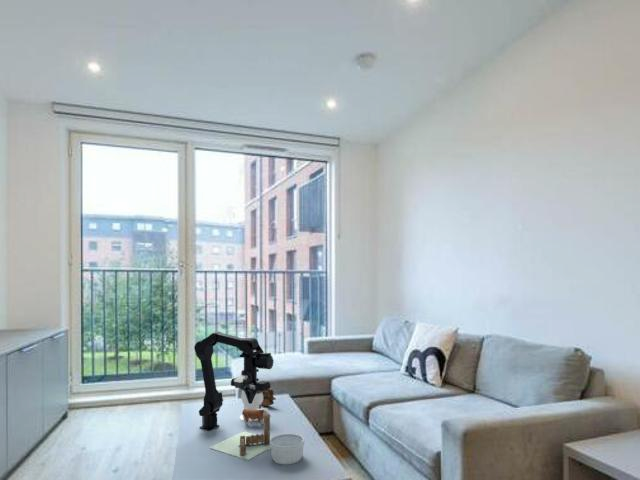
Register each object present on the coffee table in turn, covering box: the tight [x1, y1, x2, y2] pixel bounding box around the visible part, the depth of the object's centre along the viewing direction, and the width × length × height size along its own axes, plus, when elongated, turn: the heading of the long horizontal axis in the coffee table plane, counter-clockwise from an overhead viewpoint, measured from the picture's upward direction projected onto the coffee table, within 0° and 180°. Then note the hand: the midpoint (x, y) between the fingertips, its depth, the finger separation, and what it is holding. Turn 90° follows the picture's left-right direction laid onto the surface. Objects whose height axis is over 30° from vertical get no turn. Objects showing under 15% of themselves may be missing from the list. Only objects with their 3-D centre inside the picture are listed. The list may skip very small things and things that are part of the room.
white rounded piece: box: [239, 389, 264, 423], centre depth 204 cm, size 12×11×15 cm
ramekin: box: [270, 433, 305, 466], centre depth 158 cm, size 13×13×7 cm
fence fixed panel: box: [240, 436, 245, 456], centre depth 165 cm, size 10×2×4 cm, turn 11°
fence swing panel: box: [246, 413, 271, 445], centre depth 171 cm, size 10×3×11 cm, turn 106°
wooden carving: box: [261, 386, 276, 407], centre depth 222 cm, size 16×5×10 cm, turn 50°
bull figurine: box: [241, 407, 270, 428], centre depth 193 cm, size 4×13×8 cm, turn 78°
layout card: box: [209, 431, 272, 461], centre depth 171 cm, size 21×20×1 cm
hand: (250, 403), depth 184 cm, fingers closed
